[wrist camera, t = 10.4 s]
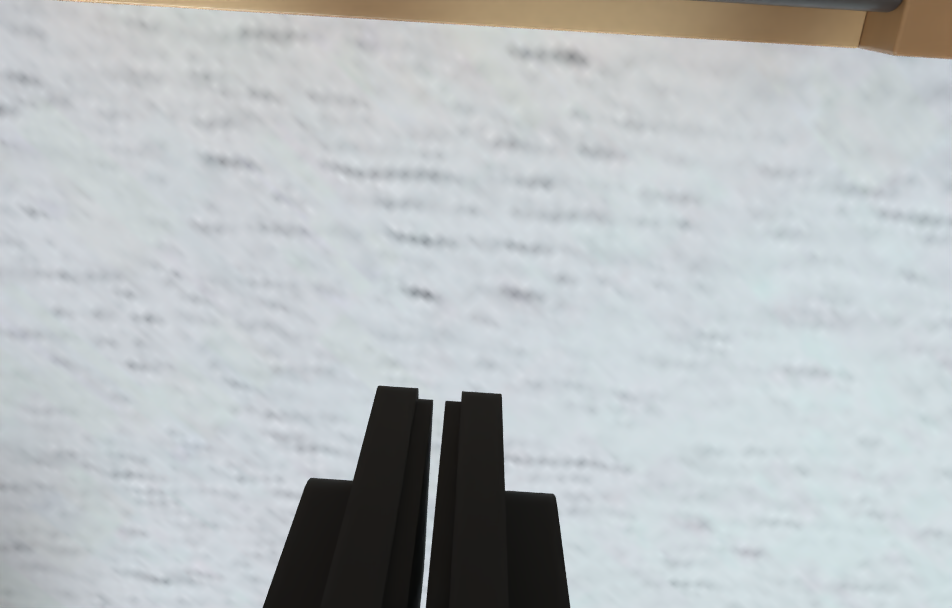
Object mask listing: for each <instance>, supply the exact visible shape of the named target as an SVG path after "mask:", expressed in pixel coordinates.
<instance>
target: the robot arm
mask: <svg viewBox="0 0 952 608" xmlns="http://www.w3.org/2000/svg"><path fill="white" fill-rule="evenodd" d="M432 414H433V400H426V399H418V388H405V387H390V386H378V388H377V391H376V395H375V399H374V402H373V406H372V410H371V414H370V418H369V422H368V425H367V429H366V433H365V437H364V441H363V445H362V449H361V452H360V456H359V460H358V464H357V468H356V472H355V475H354V479H353V481H349V480H334V479H319V478H310V479H309V480H308V482H307V484H306V486H305V488H304V491H303V494H302V497H301V500H300V503H299V505H298V508H297V511H296V514H295V517H294V520H293V523H292V525H291V528H290V531H289V534H288V537H287V540H286V543H285V545H284V548H283V551H282V554H281V557H280V560H279V563H278V565H277V568H276V571H275V574H274V577H273V580H272V583H271V585H270V588H269V591H268V594H267V597H266V600H265V603H264V605H263V608H420V602H421V593H422V583H423V572H424V559H425V542H426V523H427V505H428V487H429V469H430V451H431V432H432ZM426 608H570V602H569V594H568V586H567V579H566V571H565V563H564V555H563V548H562V540H561V532H560V524H559V516H558V509H557V502H556V497H555V495H554V494H547V493H532V492H517V491H505V480H504V450H503V419H502V395H501V394H494V393H479V392H464V391H462V399H461V402H456V401H446V402H445V412H444V423H443V433H442V444H441V454H440V464H439V475H438V485H437V496H436V506H435V516H434V527H433V537H432V548H431V558H430V568H429V579H428V589H427V600H426Z"/></svg>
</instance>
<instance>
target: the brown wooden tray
mask: <svg viewBox="0 0 952 608" xmlns="http://www.w3.org/2000/svg"><path fill="white" fill-rule="evenodd" d="M59 1H76V2H92V3H109V4H126V5H143V6H159V7H176V8H193V9H209V10H226V11H243V12H260V13H276V14H293V15H310V16H326V17H343V18H360V19H377V20H393V21H410V22H427V23H443V24H460V25H477V26H494V27H510V28H527V29H544V30H560V31H577V32H594V33H611V34H627V35H644V36H661V37H677V38H694V39H711V40H727V41H744V42H761V43H778V44H794V45H811V46H828V47H844V48H862V49H866V50H871V51H875V52H880V53H885V54H889V55H894V56H908V57H924V58H941V59H952V0H59Z"/></svg>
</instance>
